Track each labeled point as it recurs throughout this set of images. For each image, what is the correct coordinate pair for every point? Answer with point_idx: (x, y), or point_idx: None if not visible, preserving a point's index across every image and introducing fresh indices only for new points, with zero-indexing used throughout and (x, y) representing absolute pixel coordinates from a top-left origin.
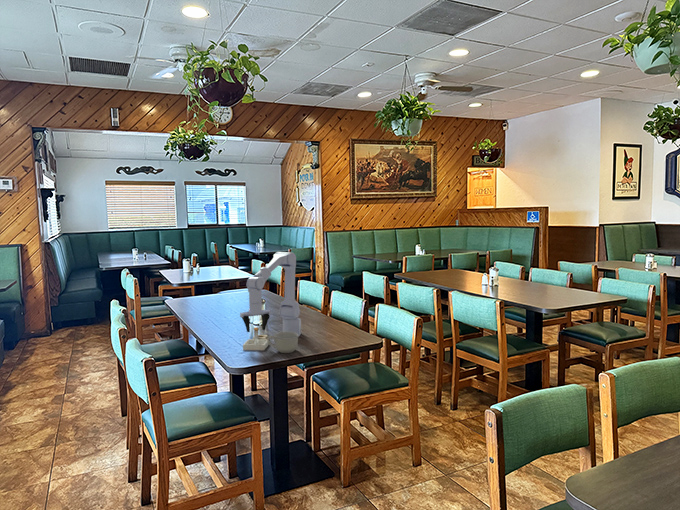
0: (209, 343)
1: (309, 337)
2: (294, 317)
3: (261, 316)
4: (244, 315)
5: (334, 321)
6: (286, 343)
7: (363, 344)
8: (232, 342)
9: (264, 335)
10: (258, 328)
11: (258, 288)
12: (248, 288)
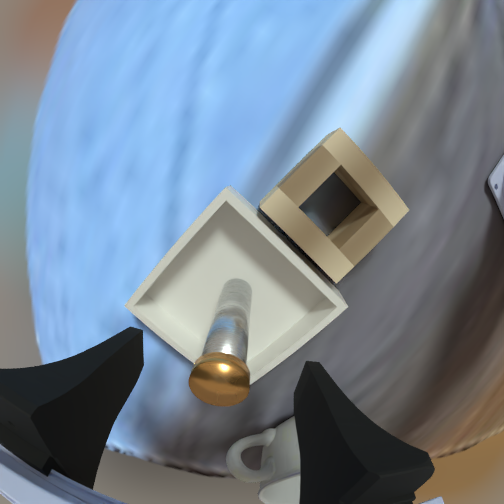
0: (67, 39)
1: None
2: None
3: (356, 459)
4: (9, 464)
5: None
6: (283, 490)
7: (490, 433)
8: (165, 70)
9: (384, 203)
10: (236, 401)
11: None
12: None
